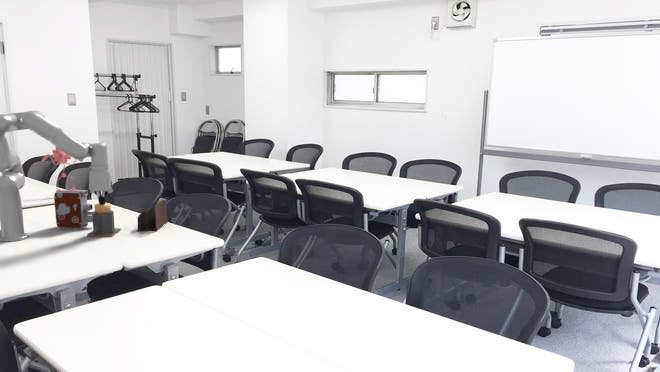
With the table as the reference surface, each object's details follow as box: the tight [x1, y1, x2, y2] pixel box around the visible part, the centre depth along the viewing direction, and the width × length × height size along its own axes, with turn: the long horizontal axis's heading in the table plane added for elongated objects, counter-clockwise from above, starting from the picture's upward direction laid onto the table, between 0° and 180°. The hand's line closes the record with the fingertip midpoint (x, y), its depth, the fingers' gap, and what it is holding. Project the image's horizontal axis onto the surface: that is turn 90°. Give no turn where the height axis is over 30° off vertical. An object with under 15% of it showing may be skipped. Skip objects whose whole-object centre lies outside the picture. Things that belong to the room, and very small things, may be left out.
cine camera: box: [53, 189, 94, 229], centre depth 268 cm, size 9×19×20 cm, turn 89°
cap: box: [93, 202, 112, 214], centre depth 256 cm, size 7×7×7 cm
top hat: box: [86, 209, 121, 238], centre depth 257 cm, size 12×12×11 cm
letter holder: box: [137, 199, 168, 232], centre depth 271 cm, size 10×20×14 cm, turn 2°
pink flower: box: [41, 146, 84, 198], centre depth 350 cm, size 15×26×35 cm, turn 136°
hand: (102, 204), depth 255 cm, fingers closed
